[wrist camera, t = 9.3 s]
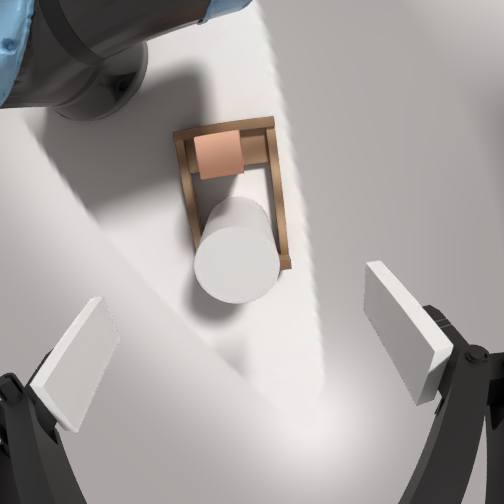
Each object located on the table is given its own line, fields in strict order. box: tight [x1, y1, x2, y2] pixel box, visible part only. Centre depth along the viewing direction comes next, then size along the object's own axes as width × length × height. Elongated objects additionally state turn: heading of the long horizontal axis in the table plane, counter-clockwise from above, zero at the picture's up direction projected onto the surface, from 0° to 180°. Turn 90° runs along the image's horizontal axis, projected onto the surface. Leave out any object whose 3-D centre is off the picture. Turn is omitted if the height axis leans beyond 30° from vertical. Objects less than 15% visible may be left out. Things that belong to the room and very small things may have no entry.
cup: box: [194, 196, 280, 304], centre depth 34 cm, size 8×8×12 cm
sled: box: [173, 116, 292, 270], centre depth 32 cm, size 19×12×13 cm, turn 8°
